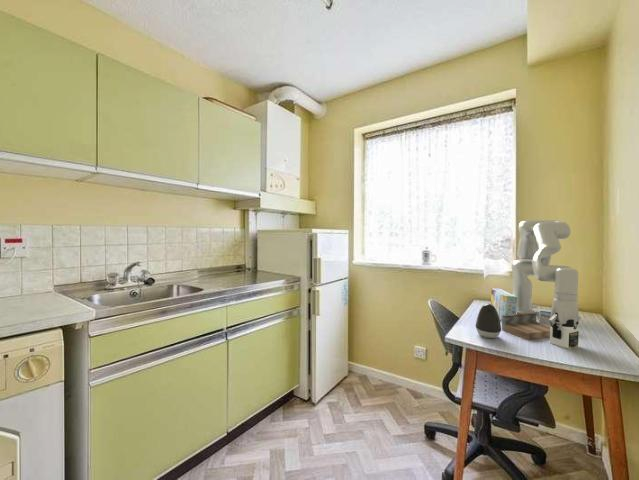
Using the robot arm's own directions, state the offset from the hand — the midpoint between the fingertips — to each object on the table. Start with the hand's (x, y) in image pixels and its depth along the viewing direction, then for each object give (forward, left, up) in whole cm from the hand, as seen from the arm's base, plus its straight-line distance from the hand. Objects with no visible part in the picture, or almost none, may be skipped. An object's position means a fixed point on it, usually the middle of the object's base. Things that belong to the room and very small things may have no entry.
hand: (564, 337), depth 124 cm
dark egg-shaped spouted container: (+24, -16, -4) cm, 29 cm away
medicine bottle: (0, 0, -4) cm, 4 cm away
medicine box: (-16, -18, -4) cm, 24 cm away
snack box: (-6, -36, -4) cm, 37 cm away
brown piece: (0, -14, -3) cm, 14 cm away
